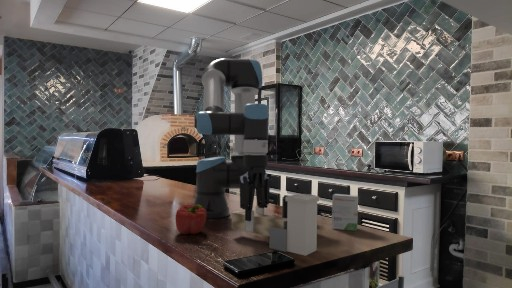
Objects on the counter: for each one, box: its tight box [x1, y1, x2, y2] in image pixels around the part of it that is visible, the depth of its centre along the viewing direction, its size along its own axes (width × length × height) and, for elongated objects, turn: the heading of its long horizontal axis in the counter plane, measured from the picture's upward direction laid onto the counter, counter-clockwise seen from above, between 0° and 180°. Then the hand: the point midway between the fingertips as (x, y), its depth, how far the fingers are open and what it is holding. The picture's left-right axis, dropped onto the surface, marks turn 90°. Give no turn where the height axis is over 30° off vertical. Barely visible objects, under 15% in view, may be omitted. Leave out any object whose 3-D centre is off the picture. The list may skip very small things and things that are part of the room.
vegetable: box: [175, 204, 207, 235], centre depth 118 cm, size 11×10×10 cm
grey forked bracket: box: [269, 193, 320, 256], centre depth 103 cm, size 12×8×15 cm, turn 51°
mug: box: [281, 195, 288, 218], centre depth 136 cm, size 9×12×9 cm
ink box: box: [331, 193, 359, 232], centre depth 127 cm, size 9×5×12 cm, turn 71°
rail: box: [231, 210, 287, 237], centre depth 110 cm, size 21×4×5 cm, turn 51°
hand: (254, 229), depth 112 cm, fingers closed on rail, 4 cm apart
